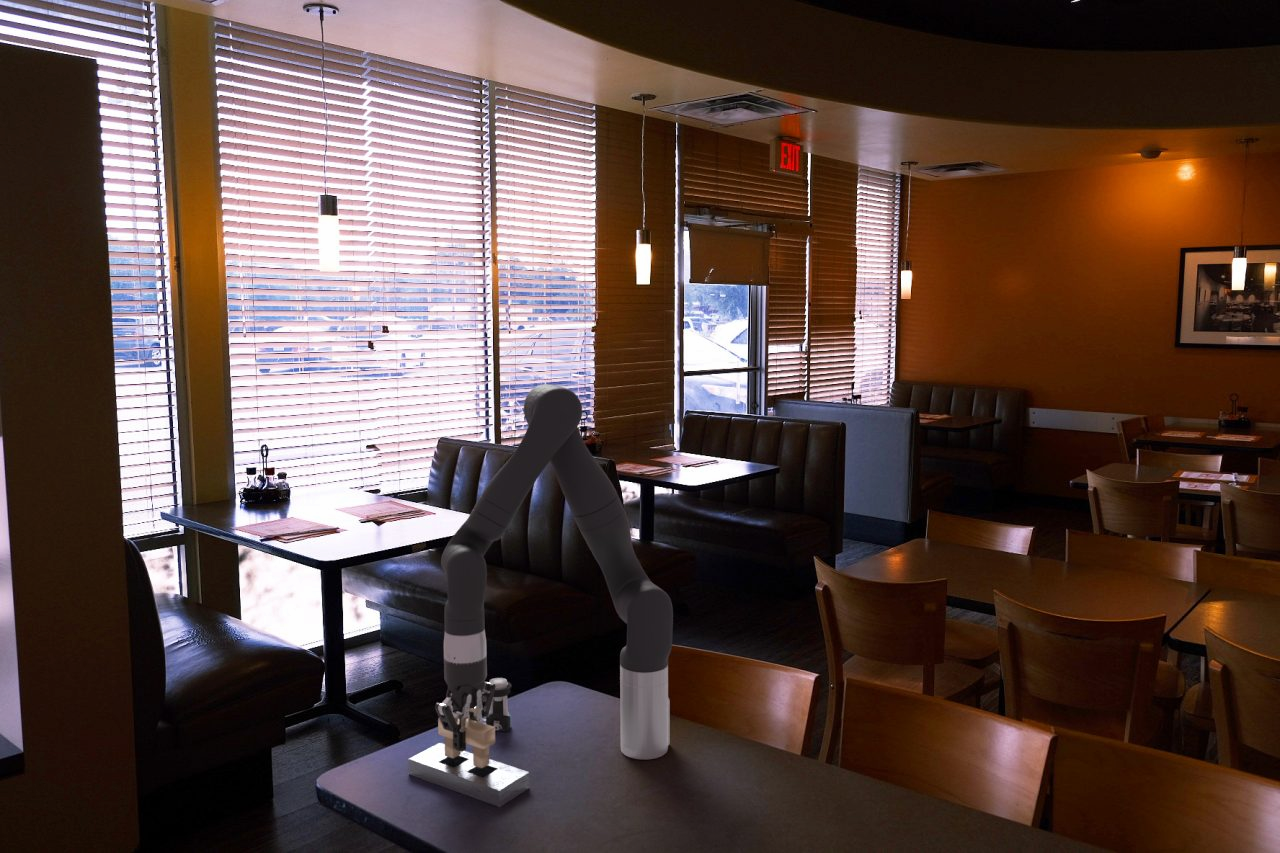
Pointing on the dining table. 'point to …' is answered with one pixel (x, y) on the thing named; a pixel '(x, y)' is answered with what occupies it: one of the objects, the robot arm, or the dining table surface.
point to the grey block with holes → (469, 775)
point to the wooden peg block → (471, 741)
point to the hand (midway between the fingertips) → (467, 745)
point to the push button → (499, 706)
